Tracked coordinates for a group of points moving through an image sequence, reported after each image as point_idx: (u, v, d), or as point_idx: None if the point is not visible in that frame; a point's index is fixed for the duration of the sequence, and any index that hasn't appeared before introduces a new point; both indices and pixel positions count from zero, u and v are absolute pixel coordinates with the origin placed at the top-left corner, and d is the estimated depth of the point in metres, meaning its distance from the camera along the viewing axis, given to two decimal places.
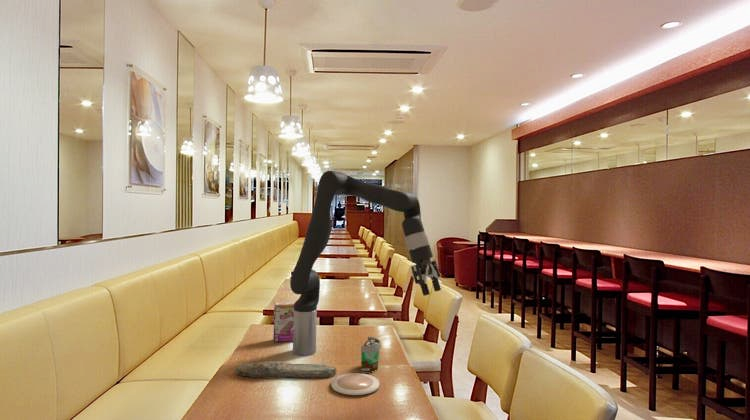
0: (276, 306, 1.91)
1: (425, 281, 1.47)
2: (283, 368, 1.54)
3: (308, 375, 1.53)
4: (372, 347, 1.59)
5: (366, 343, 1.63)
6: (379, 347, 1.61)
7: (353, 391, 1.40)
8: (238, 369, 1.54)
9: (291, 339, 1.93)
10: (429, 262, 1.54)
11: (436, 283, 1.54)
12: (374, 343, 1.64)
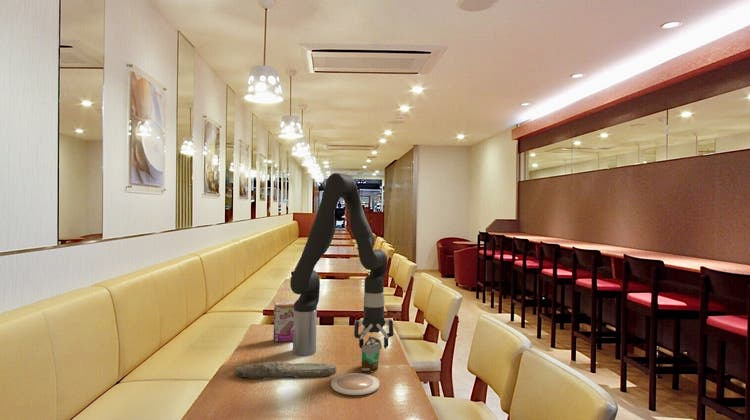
0: (276, 306, 1.91)
1: (360, 338, 1.61)
2: (284, 368, 1.54)
3: (309, 374, 1.54)
4: (373, 347, 1.59)
5: (367, 343, 1.63)
6: (380, 347, 1.61)
7: (353, 391, 1.40)
8: (238, 370, 1.53)
9: (291, 339, 1.93)
10: (380, 321, 1.62)
11: (384, 341, 1.63)
12: (375, 343, 1.64)
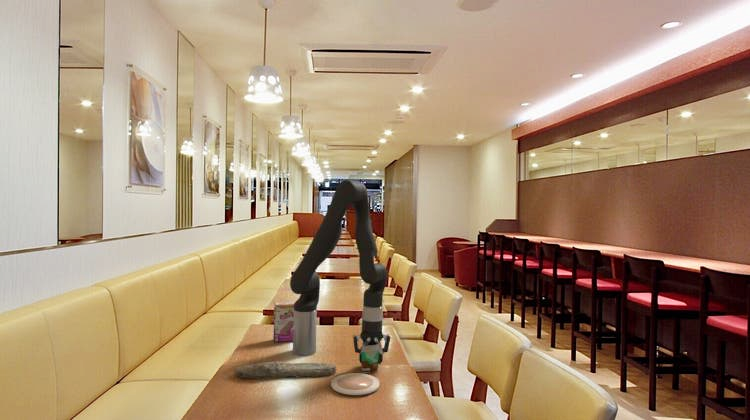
0: (276, 306, 1.91)
1: (361, 353, 1.61)
2: (284, 368, 1.54)
3: (309, 374, 1.54)
4: (372, 347, 1.59)
5: None
6: (379, 347, 1.61)
7: (353, 391, 1.40)
8: (238, 371, 1.52)
9: (291, 339, 1.93)
10: (378, 334, 1.62)
11: None
12: None
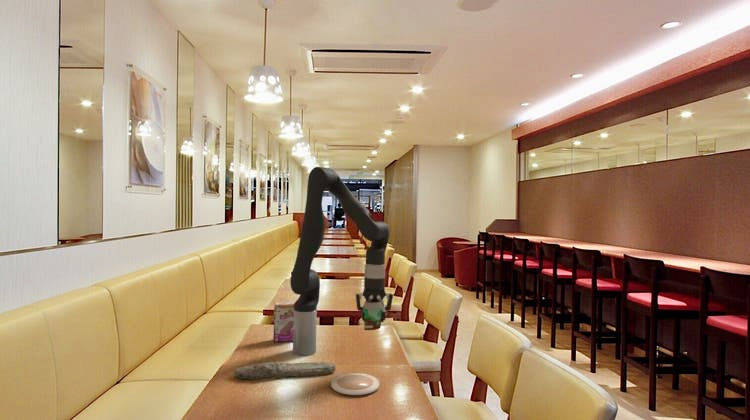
0: (276, 306, 1.91)
1: (363, 311, 1.61)
2: (284, 368, 1.54)
3: (310, 373, 1.55)
4: (375, 304, 1.58)
5: None
6: (382, 305, 1.61)
7: (353, 391, 1.40)
8: (238, 372, 1.51)
9: (291, 339, 1.93)
10: (381, 292, 1.62)
11: None
12: None
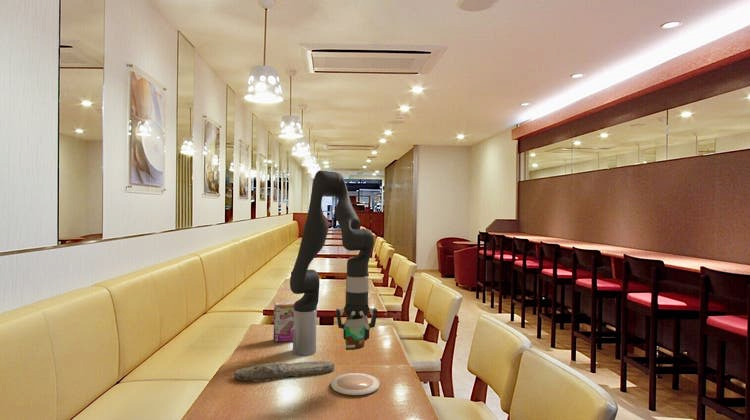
0: (276, 306, 1.91)
1: None
2: (285, 368, 1.54)
3: (311, 372, 1.56)
4: (357, 321, 1.43)
5: None
6: (365, 321, 1.45)
7: (353, 391, 1.40)
8: (238, 374, 1.49)
9: (291, 339, 1.93)
10: (364, 307, 1.46)
11: (365, 332, 1.47)
12: None
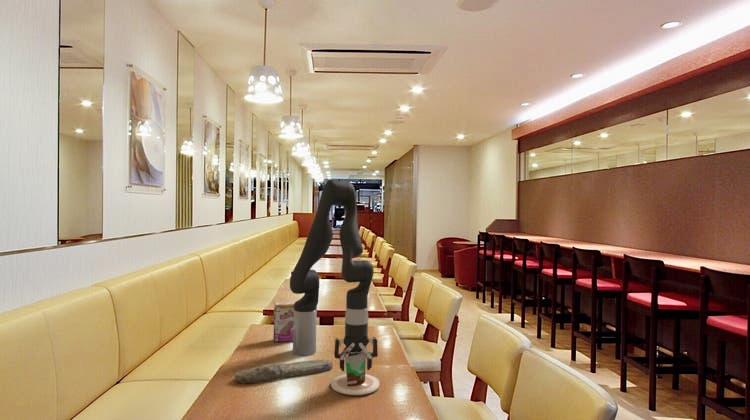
0: (276, 306, 1.91)
1: (341, 358, 1.45)
2: (286, 368, 1.54)
3: (312, 371, 1.57)
4: (357, 357, 1.43)
5: (350, 353, 1.47)
6: (365, 356, 1.46)
7: (353, 391, 1.40)
8: (240, 377, 1.47)
9: (291, 339, 1.93)
10: (363, 340, 1.46)
11: (367, 362, 1.47)
12: (359, 352, 1.48)
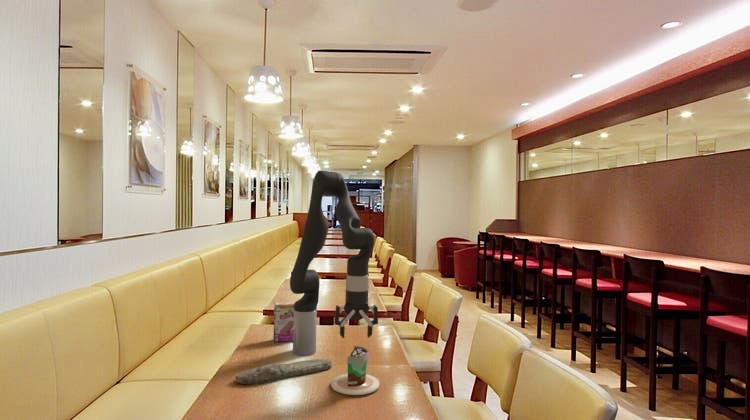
0: (276, 306, 1.91)
1: (341, 325, 1.45)
2: (287, 368, 1.54)
3: (312, 370, 1.57)
4: (360, 358, 1.43)
5: (352, 353, 1.47)
6: (367, 357, 1.45)
7: (353, 391, 1.40)
8: (241, 378, 1.46)
9: (291, 339, 1.93)
10: (363, 307, 1.46)
11: (368, 329, 1.47)
12: (361, 353, 1.48)
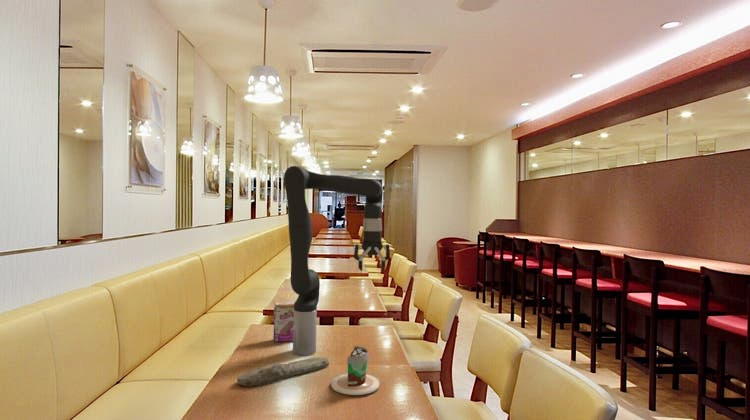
0: (276, 306, 1.91)
1: (360, 259, 1.76)
2: (288, 368, 1.54)
3: (311, 369, 1.59)
4: (360, 358, 1.43)
5: (352, 353, 1.47)
6: (367, 357, 1.45)
7: (353, 391, 1.40)
8: (244, 380, 1.44)
9: (291, 339, 1.93)
10: (378, 245, 1.77)
11: (381, 263, 1.78)
12: (361, 353, 1.48)
